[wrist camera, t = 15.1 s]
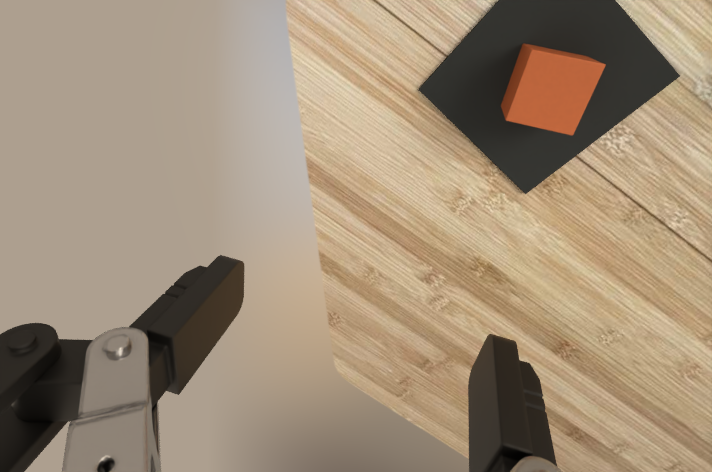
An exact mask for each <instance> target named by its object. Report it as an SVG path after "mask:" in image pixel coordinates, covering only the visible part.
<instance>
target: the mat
mask: <svg viewBox="0 0 712 472" xmlns="http://www.w3.org/2000/svg"><path fill="white" fill-rule="evenodd" d="M523 43H525V44H530V45H535V46H540V47H544V48H549V49H554V50H559V51H564V52H569V53H574V54H579V55H584V56H588V57H590V58H592V59H594V60H597V61H599V62H601V63H604V64H606V66H605V68H604V70H603V72H602V74H601V76H600V79H599V81H598V83H597V85H596V87H595V89H594V91H593V94H592V96H591V98H590V100H589V102H588V104H587V106H586V109H585V111H584V113H583V115H582V117H581V119H580V121H579V124H578V126H577V128H576V130H575V132H574V134H573V135H567V134H563V133H558V132H554V131H550V130H545V129H541V128H536V127H532V126H528V125H523V124H519V123H514V122H510V121H506V120H505V117H504V114H503V111H502V108H501V104H502V101H503V98H504V95H505V93H506V90H507V87H508V84H509V81H510V78H511V76H512V73H513V70H514V67H515V64H516V61H517V59H518V56H519V53H520V50H521V47H522V44H523ZM678 77H680V75H679V74H678V73H677V72H676V71H675V69H674V68H673V67H672V66H671V65H670V64H669V62H668V61H667V60H666V59H665V58H664V57H663V55H662V54H661V53H660V52H659V51H658V50H657V48H656V47H655V46H654V45H653V44H652V43H651V41H650V40H649V39H648V38H647V37H646V36H645V34H644V33H643V32H642V31H641V30H640V29H639V27H638V26H637V25H636V24H635V23H634V22H633V20H632V19H631V18H630V17H629V16H628V15H627V13H626V12H625V11H624V10H623V9H622V8H621V6H620V5H619V4H618V3H617V2H616V1H615V0H499V1H498V2H497V3H496V4H495V5H494V6H493V7H492V9H491V10H490V11H489V12H488V13H487V14H486V15H485V16H484V17H483V19H482V20H481V21H480V22H479V23H478V24H477V25H476V26H475V27H474V28H473V30H472V31H471V32H470V33H469V34H468V35H467V36H466V37H465V38H464V40H463V41H462V42H461V43H460V44H459V45H458V46H457V47H456V48H455V49H454V51H453V52H452V53H451V54H450V55H449V56H448V57H447V58H446V59H445V61H444V62H443V63H442V64H441V65H440V66H439V67H438V68H437V69H436V70H435V72H434V73H433V74H432V75H431V76H430V77H429V78H428V79H427V80H426V82H425V83H424V84H423V85H422V86H421V87H420V88H419V90H420V91H421V92H422V93H423V94H424V95H425V96H426V97H427V98H428V99H429V100H430V101H431V102H432V103H433V104H434V105H435V106H436V107H437V108H438V109H439V110H440V111H441V112H442V113H443V114H444V115H445V116H446V117H447V118H448V119H449V120H450V121H451V122H452V123H453V124H454V125H455V126H456V127H457V128H458V129H459V130H460V131H462V132H463V133H464V134H465V135H466V136H467V137H468V138H469V139H470V140H471V141H472V142H473V143H474V144H475V145H476V146H477V147H478V148H479V149H480V150H481V151H482V152H483V153H484V154H485V155H486V156H487V157H488V158H489V159H490V160H491V161H492V162H493V163H494V164H495V165H496V166H497V167H498V168H499V169H500V170H501V171H502V172H503V173H504V174H505V175H507V176H508V177H509V178H510V179H511V180H512V181H513V182H514V183H515V184H516V185H517V186H518V187H519V188H520V189H521V190H522V191H523V192H524V193H525V194H526V193H528V192H529V191H530V190H532V189H533V188H534V187H536V186H537V185H538V184H539V183H541V182H542V181H543V180H545V179H546V178H547V177H549V176H550V175H551V174H553V173H554V172H555V171H556V170H558V169H559V168H560V167H562V166H563V165H564V164H566V163H567V162H568V161H570V160H571V159H572V158H574V157H575V156H576V155H577V154H579V153H580V152H581V151H583V150H584V149H585V148H587V147H588V146H589V145H591V144H592V143H593V142H594V141H596V140H597V139H598V138H600V137H601V136H602V135H604V134H605V133H606V132H608V131H609V130H610V129H611V128H613V127H614V126H615V125H617V124H618V123H619V122H621V121H622V120H623V119H625V118H626V117H627V116H628V115H630V114H631V113H632V112H634V111H635V110H636V109H638V108H639V107H640V106H642V105H643V104H644V103H646V102H647V101H648V100H649V99H651V98H652V97H653V96H655V95H656V94H657V93H659V92H660V91H661V90H663V89H664V88H665V87H666V86H668V85H669V84H670V83H672V82H673V81H674V80H676V79H677V78H678Z"/></svg>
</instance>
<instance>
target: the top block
mask: <svg viewBox="0 0 712 472" xmlns="http://www.w3.org/2000/svg"><path fill="white" fill-rule="evenodd" d="M605 66H606V64H604V63H601V62H599V61H597V60H594V59H592V58H590V57H588V56H584V55H579V54H574V53H569V52H564V51H559V50H554V49H549V48H544V47H540V46H535V45H530V44H525V43H523V44H522V47H521V50H520V53H519V56H518V59H517V61H516V64H515V67H514V70H513V73H512V76H511V78H510V81H509V84H508V87H507V90H506V93H505V95H504V98H503V101H502V104H501V108H502V111H503V114H504V117H505V120H506V121H510V122H514V123H519V124H523V125H528V126H532V127H536V128H541V129H545V130H550V131H554V132H558V133H563V134H567V135H573V134H574V132H575V130H576V128H577V126H578V124H579V121H580V119H581V117H582V115H583V113H584V111H585V109H586V106H587V104H588V102H589V100H590V98H591V96H592V94H593V91H594V89H595V87H596V85H597V83H598V81H599V79H600V76H601V74H602V72H603V70H604V68H605Z"/></svg>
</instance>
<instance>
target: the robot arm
mask: <svg viewBox="0 0 712 472" xmlns="http://www.w3.org/2000/svg"><path fill="white" fill-rule="evenodd" d="M243 297H244V263H243V262H242V261H240V260H236V259H232V258H229V257H226V256H222V255H220V256H218V257H217V258H216V259H215V260H214V261H213V262H212V263H211V264H210V265H209V266H208V267H203V266H198V267H197V268H194V269H192V270H190V271H188V272H186V273H184V274H183V275H182V276H181V277H180V278H179V279H178V280H177V281H176V282H175V283H174V285H173V286H171V287H170V288H169V289H168V290H167V291H166V292H165V294H163V295H162V296H161V297H160V298H158V300H156V302H154V303H153V304H152V305H151V306H150V307H149V308H148V309H147V310H146V311H145V312H144V313H143V314H142V315H141V316H140V317H139V318H138V319H137V320H136V321H135V322H134V323H133V324H131V325H130V326H129V327H122V328H116V329H112V330H109V331H107V332H104V333H103V334H101V335H99V336H98V337H96V338H95V339H94V340H67V339H64V340H63V339H58V335H57V333H56V330H55V329H54V328H53V327H51V326H49V325H47V324H42V323H30V324H24V325H20V326H17V327H14V328H12V329H10V330H7V331H6V332H4V333H2V334H0V472H24V471H25V470H26V469H27V468H28V467H29V466H30V465H31V463H32V462H33V461H34V460H35V459H36V458H37V456H38V455H39V454H40V453H41V452H42V451H43V450H44V448H45V447H46V446H47V445H48V444H49V443H50V442H51V440H52V439H53V438H54V437H55V436H56V435H57V433H58V432H59V431H60V430H61V429H62V428H63V426H64V425H65V424H66V423H67V422H68V421H71V422H70V425H69V428H68V433H67V440H66V447H65V453H64V461H63V467H62V472H161V461H160V436H159V411H158V400H159V399H160V398H161V396H162V395H163V394H164V392H165V391H169V392H172V393H175V394H178V395H179V394H180V393H181V391H182V390H183V388H184V387H185V386H186V384H187V383H188V382H189V380H190V379H191V378H192V376H193V375H194V373H195V372H196V371H197V369H198V368H199V367H200V365H201V364H202V362H203V361H204V360H205V358H206V357H207V356H208V354H209V353H210V351H211V350H212V349H213V347H214V346H215V345H216V343H217V341H218V340H219V339H220V338H221V336H222V335H223V334H224V332H225V331H226V330H227V328H228V327H229V325H230V324H231V322H232V321H233V320H234V319H235V317H236V316H237V314H238V312H239V311H240V308H241V305H242V302H243ZM542 396H543V394H542V389H541V384H540V379H539V378H538V376H537V374H536V373H535V371H534V370H533V368H532V366H531V365H530V363H527V362H523V361H520V360H519V356H518V349H517V344H516V342H515V341H513V340H510V339H506V338H503V337H499V336H496V335H492V334H489V335H488V336H487V338H486V340H485V342H484V344H483V346H482V348H481V350H480V352H479V354H478V357H477V359H476V361H475V363H474V365H473V367H472V370H471V373H470V377H469V385H468V397H469V472H562V471H561V470H560V469H559V468H558V467H557V464H556V460H555V455H554V449H553V444H552V439H551V434H550V429H549V424H548V419H547V414H546V412H545V404H544V399H542Z"/></svg>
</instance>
